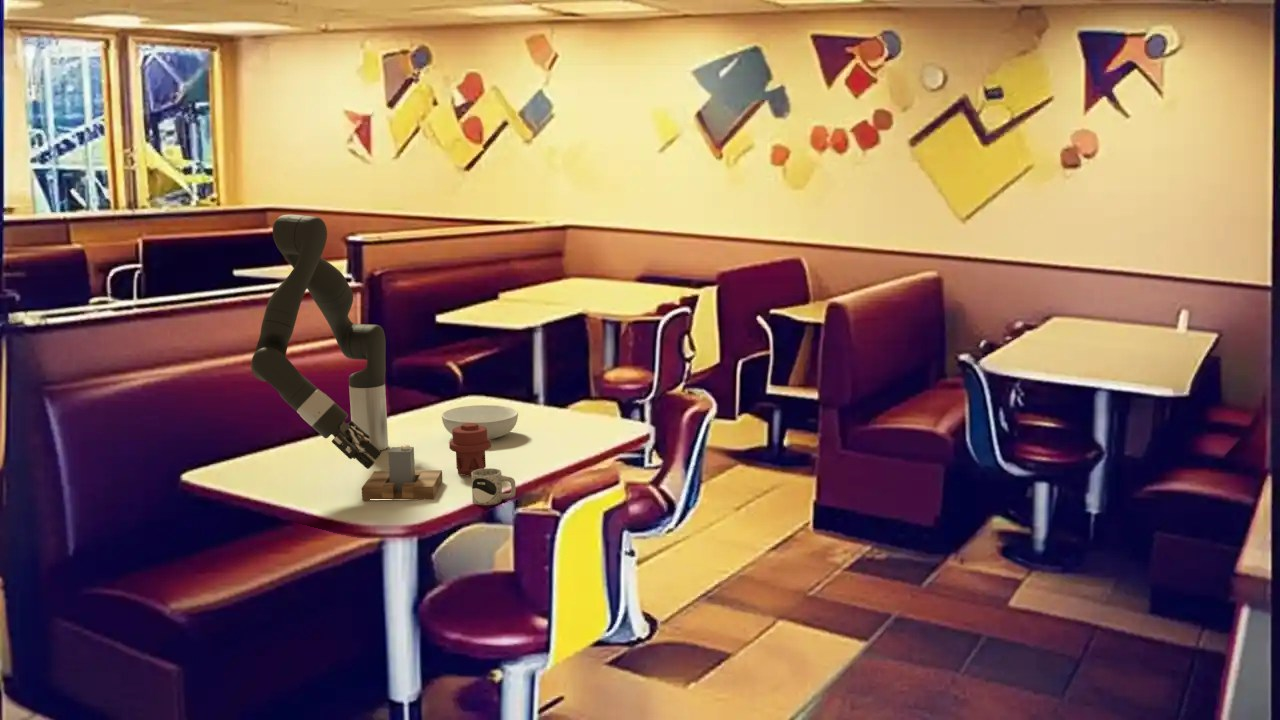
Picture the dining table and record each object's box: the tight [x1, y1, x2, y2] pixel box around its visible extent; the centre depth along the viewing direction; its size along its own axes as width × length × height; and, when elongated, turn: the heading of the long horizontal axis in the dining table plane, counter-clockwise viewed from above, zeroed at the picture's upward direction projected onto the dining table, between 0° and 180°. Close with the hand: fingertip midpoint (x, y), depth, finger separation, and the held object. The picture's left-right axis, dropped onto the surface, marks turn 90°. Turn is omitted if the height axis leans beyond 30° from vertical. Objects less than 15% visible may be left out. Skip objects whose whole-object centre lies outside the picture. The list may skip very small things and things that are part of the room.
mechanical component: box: [448, 423, 492, 478], centre depth 284 cm, size 12×10×10 cm
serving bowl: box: [441, 404, 519, 440], centre depth 322 cm, size 21×21×7 cm
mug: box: [471, 467, 517, 506], centre depth 262 cm, size 10×7×7 cm, turn 80°
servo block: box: [387, 444, 416, 492], centre depth 270 cm, size 4×5×10 cm
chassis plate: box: [361, 469, 443, 501], centre depth 271 cm, size 14×16×3 cm
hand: (375, 461), depth 270 cm, fingers open, 8 cm apart
